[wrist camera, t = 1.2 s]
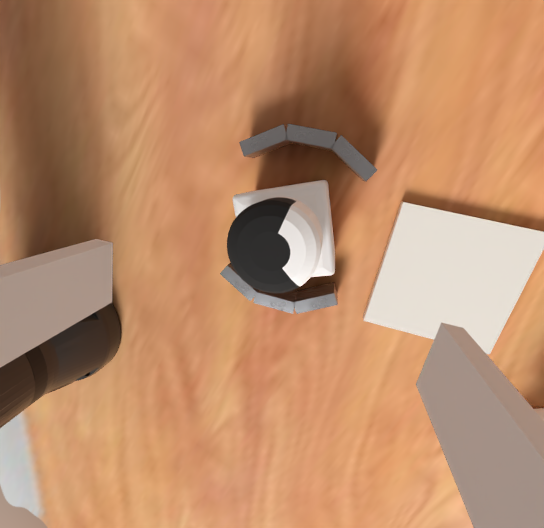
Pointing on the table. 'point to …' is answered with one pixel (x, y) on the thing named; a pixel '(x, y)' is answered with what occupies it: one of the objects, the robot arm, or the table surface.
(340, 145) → the cradle
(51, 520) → the table surface
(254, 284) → the medicine bottle
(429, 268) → the tile
